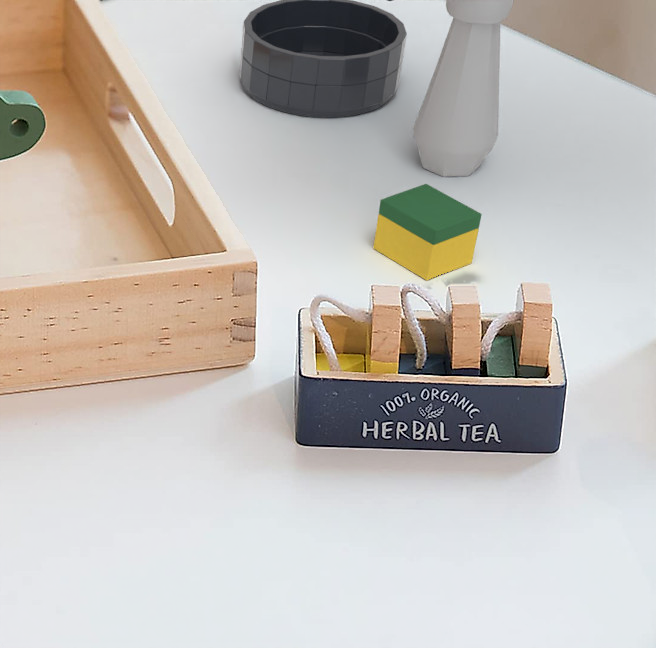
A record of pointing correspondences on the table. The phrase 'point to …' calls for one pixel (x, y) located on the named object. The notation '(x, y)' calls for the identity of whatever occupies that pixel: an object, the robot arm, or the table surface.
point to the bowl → (321, 56)
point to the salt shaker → (463, 91)
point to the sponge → (426, 231)
